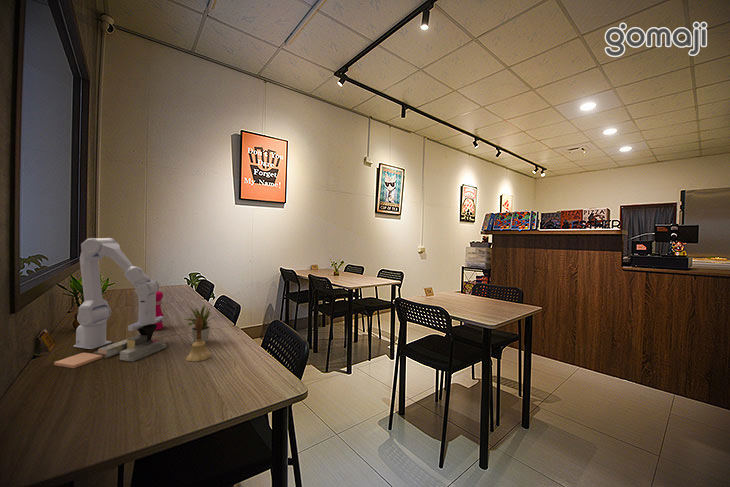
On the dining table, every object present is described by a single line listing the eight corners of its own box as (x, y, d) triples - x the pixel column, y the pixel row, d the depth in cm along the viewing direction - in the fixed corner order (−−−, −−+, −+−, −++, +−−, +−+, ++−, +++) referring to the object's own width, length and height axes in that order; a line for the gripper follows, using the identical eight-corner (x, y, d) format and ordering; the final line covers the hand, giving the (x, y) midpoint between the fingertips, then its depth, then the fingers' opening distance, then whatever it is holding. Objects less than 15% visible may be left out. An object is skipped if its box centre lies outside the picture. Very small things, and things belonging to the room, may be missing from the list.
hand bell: (181, 358, 112) (181, 316, 112) (202, 351, 120) (202, 311, 119) (194, 363, 108) (195, 320, 108) (215, 355, 116) (216, 315, 115)
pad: (53, 365, 104) (53, 362, 104) (83, 355, 113) (83, 352, 113) (73, 368, 102) (73, 365, 102) (102, 357, 111) (102, 355, 111)
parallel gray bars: (94, 355, 112) (94, 348, 112) (130, 343, 126) (130, 335, 126) (132, 361, 108) (133, 353, 108) (166, 347, 122) (166, 340, 122)
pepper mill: (154, 331, 141) (155, 289, 140) (142, 330, 142) (142, 288, 141) (167, 327, 148) (168, 286, 147) (155, 325, 149) (156, 285, 149)
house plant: (183, 337, 134) (183, 301, 133) (217, 334, 140) (218, 299, 139) (178, 349, 121) (179, 309, 120) (216, 344, 127) (217, 306, 126)
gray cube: (126, 351, 117) (126, 338, 117) (139, 346, 122) (139, 334, 122) (135, 352, 116) (135, 339, 116) (147, 347, 121) (147, 335, 121)
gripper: (138, 315, 115) (138, 350, 115) (170, 307, 129) (169, 338, 130) (123, 314, 116) (123, 348, 117) (156, 305, 131) (156, 336, 131)
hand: (146, 342), depth 123 cm, fingers closed
